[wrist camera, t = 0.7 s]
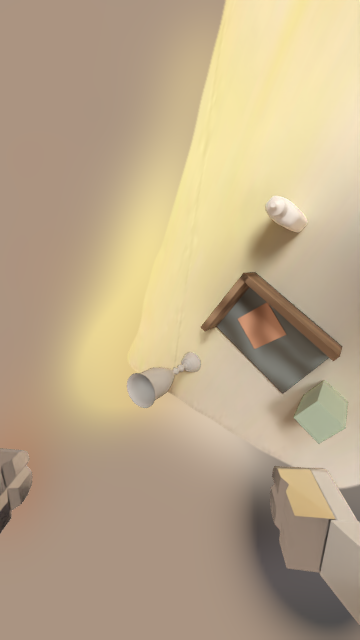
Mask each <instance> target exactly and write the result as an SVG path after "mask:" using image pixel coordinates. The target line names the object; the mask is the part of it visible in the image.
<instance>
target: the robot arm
mask: <svg viewBox="0 0 360 640" xmlns="http://www.w3.org/2000/svg"><path fill="white" fill-rule="evenodd" d="M28 461H29V456H28V452H26V451H23V450H13V449H3V448H0V533H1V532H2V530H3V529H4V527H5V526H6V525H7V523H8V522H9V520H10V519H11V512H12V510H13V509H14V508H16V507H18V506H19V505H20V504H22V502H23V501H24V499H25V498H26V496H27V495H28V492H29V490H30V487H31V484H32V472H31V470H30V469H29V468H28V467H27V466H26V464H27V463H28ZM272 477H273V480H274V483H275V484H274V485H273V486H272V487H271V492H270V503H271V511H272V516H273V520H274V524H275V525H276V526H277V527H278V529H279V530H280V538H279V542H280V545H281V549H282V553H283V556H284V559H285V563H286V567H287V568H289V569H297V570H305V571H314V572H320V575H321V576H322V578H323V579H324V580H325V581H326V582H327V584H328V585H329V587H330V588H331V589H332V591H333V592H334V593H335V594H336V596H337V597H338V598H339V600H340V601H341V602H342V603H343V605H344V606H345V607H346V609H347V610H348V611H349V612H350V614H351V615H352V616H353V617H354V618H355V620H356V621H357V623H358V624H359V625H360V522H358V521H357V519H356V517H355V516H354V514H353V512H352V511H351V509H350V507H349V506H348V504H347V502H346V501H345V499H344V497H343V496H342V494H341V492H340V490H339V489H338V487H337V485H336V484H335V482H334V480H333V479H332V477H331V475H330V474H329V472H328V471H327V470H326V469H323V468H301V467H282V466H281V467H280V466H274V468H273V474H272Z"/></svg>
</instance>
